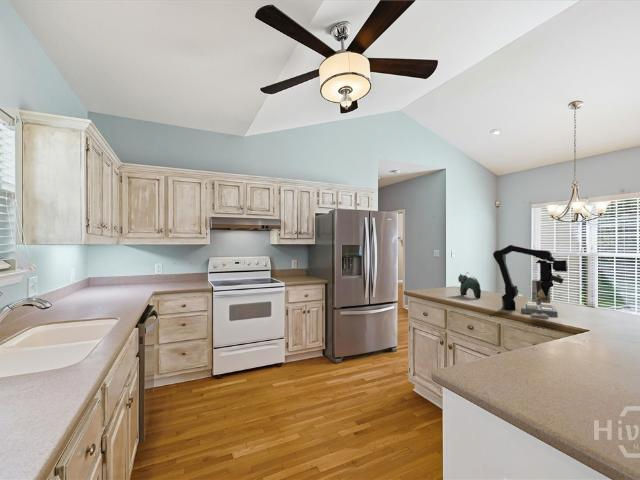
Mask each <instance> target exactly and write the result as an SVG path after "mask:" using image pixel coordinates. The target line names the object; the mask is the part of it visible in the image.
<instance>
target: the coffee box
mask: <svg viewBox="0 0 640 480" xmlns="http://www.w3.org/2000/svg"><path fill="white" fill-rule="evenodd" d="M531 302H536V305H541V303H551V287H550V288H549V292H548V296H545V295H544V292H543V290H542V288H541V286H540V282H539V280H537V279H536V280H533V279H531Z"/></svg>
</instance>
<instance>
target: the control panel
mask: <svg viewBox="0 0 640 480" xmlns="http://www.w3.org/2000/svg"><path fill="white" fill-rule="evenodd" d="M536 305H537V309H531V308H527V303H522V309H521V310H522V311H521V313H522V314H526V313H528V314H527V315H531V313H539V314H548V317H556V318H557V317H558V310H557V307H556V306H555V305H551V308H552V310H541V304H536Z"/></svg>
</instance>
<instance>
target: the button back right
mask: <svg viewBox="0 0 640 480" xmlns="http://www.w3.org/2000/svg"><path fill="white" fill-rule="evenodd" d="M540 305H541V307H545V308H551V306H552V302H550V303H541V304H540Z"/></svg>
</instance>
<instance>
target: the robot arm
mask: <svg viewBox="0 0 640 480" xmlns="http://www.w3.org/2000/svg"><path fill="white" fill-rule="evenodd" d="M512 252H513V253H514V252H515V253H520V254H522V255H523V254H524V255H529V256H532V257H535V258H537V259H538V260H537V261H536V262H535V263H536V264H539V282H540V286H541V288H542V290H543V292H544V295H545V296H548V292H549V288H550V289H551V288H552V287H554V282H557V283H559V285H560V284H561V285H562V284H563V282H564V280H565V279H564V278H563V277H562V276H561V275H560V274H556V275H555V274H553V272H552V270H554V272H564V273H565V272H566V273H567V272H568V263H567V260H566V259H562V260H558V259H556V258H555V257H554V256H553V254H552V252H551V251H550V250H547V249H546V250H544V249H533V248H528V247H523V246H519V245H514V244H509V245H508V246H506V247H503V248H501V249H499V250H497V249H496V250H495V251H493V254H492V255H493V258H494V259H495V262H496V263H497V264H498V268H499V270H500V273H501V276H502V279H503V282H504V283H503V284H504V294H503V295H502V296H501V300H502V301H501V303H502V305H501V307H502V308H501V309H503V310H507V311H516V310H517V309H516V302H515V298H516V297H517V296H518V295H519V290H518V286H517V285H514V283H513V282H512V278H511V275H510V271H509V268H508V266H507V261H506V260H507V258H506V255H508V254H510V253H512Z"/></svg>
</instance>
